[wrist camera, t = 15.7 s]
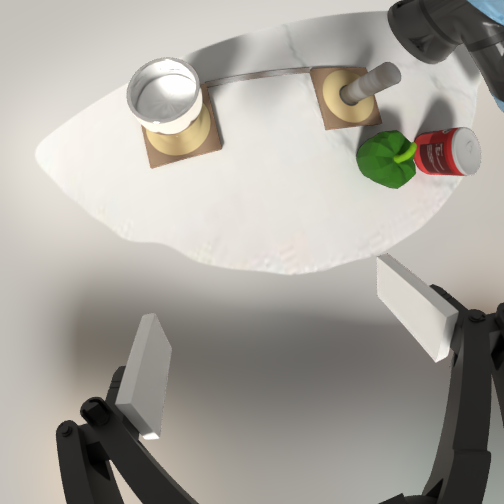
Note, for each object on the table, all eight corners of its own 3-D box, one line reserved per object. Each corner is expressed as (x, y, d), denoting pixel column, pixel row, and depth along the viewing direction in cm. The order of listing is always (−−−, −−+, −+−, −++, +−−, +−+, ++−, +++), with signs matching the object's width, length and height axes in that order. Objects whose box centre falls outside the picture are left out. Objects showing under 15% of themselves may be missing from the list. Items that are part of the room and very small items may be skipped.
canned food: (443, 147, 44) (484, 145, 33) (432, 182, 45) (475, 185, 34) (418, 124, 42) (460, 116, 31) (406, 160, 43) (449, 158, 32)
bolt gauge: (361, 66, 38) (406, 38, 26) (378, 124, 41) (429, 110, 28) (138, 101, 35) (111, 68, 22) (152, 168, 38) (127, 160, 25)
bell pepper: (364, 196, 43) (401, 200, 34) (340, 150, 41) (374, 142, 31) (398, 172, 43) (437, 172, 34) (377, 128, 41) (414, 119, 32)
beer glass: (149, 108, 34) (120, 68, 20) (198, 95, 35) (194, 47, 21) (158, 154, 36) (130, 135, 22) (208, 141, 37) (209, 114, 22)
